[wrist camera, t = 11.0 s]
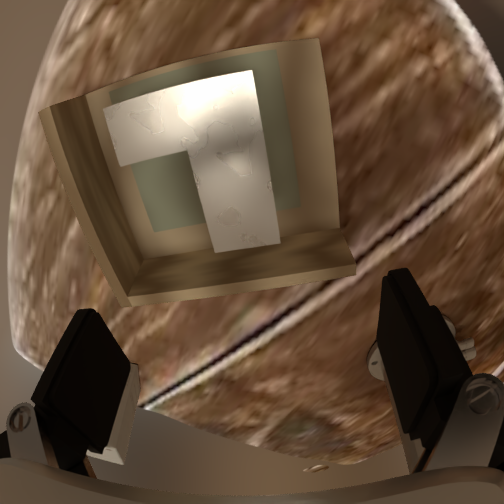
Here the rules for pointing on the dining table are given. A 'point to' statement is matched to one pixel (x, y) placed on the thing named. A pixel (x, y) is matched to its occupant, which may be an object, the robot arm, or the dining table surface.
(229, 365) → the dining table surface
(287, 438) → the dining table surface
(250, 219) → the bracket
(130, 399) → the supplement box
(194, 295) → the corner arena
